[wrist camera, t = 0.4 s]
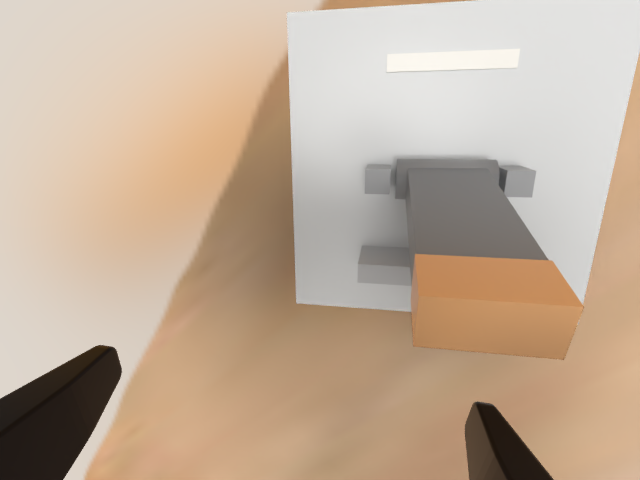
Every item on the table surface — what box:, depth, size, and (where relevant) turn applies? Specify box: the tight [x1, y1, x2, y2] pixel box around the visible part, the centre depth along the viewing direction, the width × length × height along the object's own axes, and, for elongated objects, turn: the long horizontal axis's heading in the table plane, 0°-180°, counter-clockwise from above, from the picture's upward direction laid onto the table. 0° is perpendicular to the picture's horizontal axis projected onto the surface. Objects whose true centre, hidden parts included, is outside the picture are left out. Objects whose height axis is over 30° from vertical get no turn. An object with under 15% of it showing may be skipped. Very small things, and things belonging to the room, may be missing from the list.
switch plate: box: [287, 0, 640, 324], centre depth 19 cm, size 16×16×5 cm
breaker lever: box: [395, 159, 584, 360], centre depth 14 cm, size 2×5×12 cm, turn 91°
